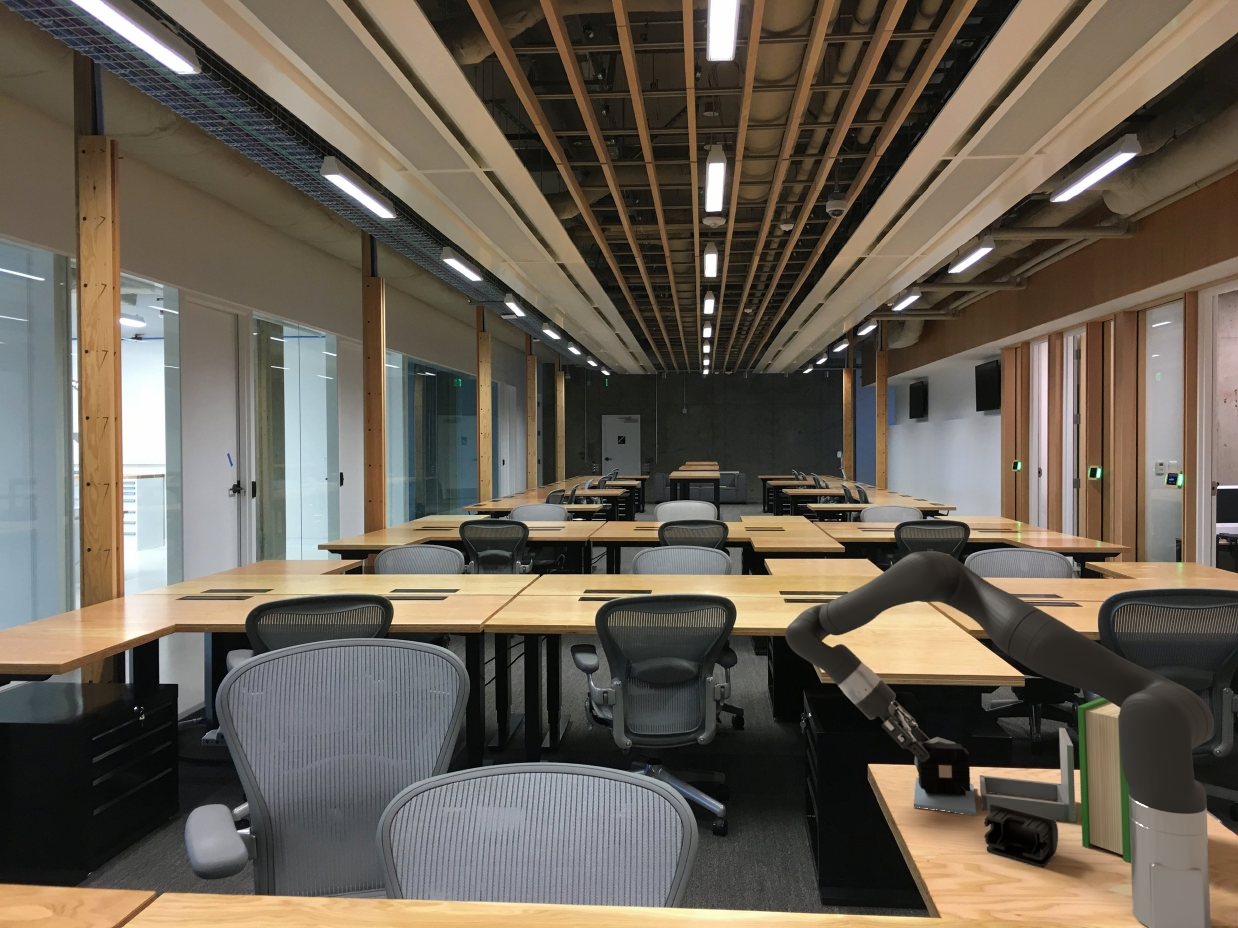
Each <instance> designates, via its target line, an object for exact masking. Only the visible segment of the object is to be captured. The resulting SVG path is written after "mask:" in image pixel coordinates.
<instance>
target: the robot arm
mask: <svg viewBox="0 0 1238 928" xmlns="http://www.w3.org/2000/svg"><path fill="white" fill-rule="evenodd" d="M916 602H920V603H942V604H945V605H947V606H948V607H951V608H953V609H955V610H956V611H958V612H960V613H962V614H964V615H966V616H968V617H969V618H970V619H972V620H973V621H974V622H976V623H977V624H978V625H979V627H981V628H982V630H983V631H984V632H985V633H986V635H987V637H988V638H989V639H990V640H991V641H992V642H993V643H994V645H996V647H997V648H999V649H1000V650H1001V651H1003V652H1004V653H1005V654H1007V656H1009V657H1011V658H1012V659H1014V660H1016V661H1017V662H1018V663H1020V664H1022V665H1024V666H1025V667H1027V668H1028V669H1029V670H1031V671H1034V672H1035V673H1037V674H1039V675H1041V676H1043V677H1046V678H1049V679H1050V680H1054V681H1057V682H1059V683H1062V684H1065V685H1068V686H1071V687H1073V688H1074V687H1075V688H1077V689H1080V690H1083V691H1086V692H1089V693H1092V694H1094V695H1096V696H1098V697H1100V698H1104V699H1106V700H1108V701H1110V702H1111V703H1113V704H1115V705H1116V706H1118V707H1120V708H1121V709H1120V713H1119V740H1120V752H1121V764H1122V770H1123V774H1124V777H1125V779H1126V781H1127V783H1128V787H1129V813H1130V814H1129V817H1130V846H1131V862H1130V863H1131V864H1130V866H1131V867H1130V871H1131V893H1132V894H1131V895H1132V913H1133V915H1134V917H1135V919H1136V920H1137V921H1138V922H1139V923H1141V924H1142V925H1144V926H1146V927H1147V928H1212V922H1211V918H1212V917H1211V900H1210V899H1211V896H1210V891H1211V890H1210V870H1209V868H1210V867H1209V866H1210V865H1209V864H1210V863H1209V843H1208V842H1209V841H1208V839H1209V837H1208V836H1209V835H1208V808H1207V805H1208V804H1207V792H1206V789H1205V787H1204V786H1203V784H1202V783H1201V782H1200V781H1198V780H1196V779H1195V773H1194V763H1193V762H1194V761H1193V749H1196V748H1198V747H1199V746H1201V745H1203V744H1204V743H1206V742H1207V741H1208V740H1209V739H1210V738H1211V737H1212V735H1213V733H1214V730H1215V719H1214V716H1213V713H1212V711H1211V709H1210V707H1209V706H1208V705H1207V703H1206V702H1205V701H1204V700H1203V698H1202V697H1200V696H1199V695H1197V694H1196V693H1195V692H1194V691H1192V690H1191V689H1189V688H1187V687H1186V686H1184V685H1181V684H1179V683H1177V682H1175V681H1173V680H1171V679H1169V678H1167V677H1164V676H1162V675H1159V674H1157V673H1155V672H1153V671H1151V670H1149V669H1146V668H1144V667H1142V666H1140V665H1138V664H1136V663H1133V662H1132V661H1129V660H1128V659H1125V658H1124V657H1122V656H1120V655H1118V653H1117V654H1116V653H1115V652H1113V651H1112V650H1110V649H1108V648H1106V647H1105V646H1103V645H1101V644H1100V643H1098V642H1096V641H1095V640H1093V639H1091V638H1090V637H1088V636H1086V635H1084V634H1082V632H1079V631H1077V630H1075V629H1074V628H1072V627H1070V626H1069V625H1067V624H1066V623H1064V622H1062V621H1061V620H1059V619H1057V618H1056V617H1054V616H1052V615H1050V614H1049V613H1047V612H1045V611H1044V610H1042V609H1039V608H1038V607H1036V606H1034V605H1032V604H1030V603H1029V602H1026V601H1024V600H1023V599H1021V598H1019V597H1017V596H1015V595H1013V594H1011V593H1010V592H1009V591H1005V590H1003V589H1002V588H999V587H997V586H995V585H994V584H992V583H990V582H988V580H986V579H984V578H983V577H981V576H980V575H979V574H977V573H976V572H975V571H973V570H972V569H970V568H969V567H968V566H966V565H965V564H964V563H962V562H961V561H959V560H958V559H956V557H953V556H952V555H950V554H948V553H944V552H940V551H915V552H911V553H909V554H907V555H905V556H904V557H903V558H901V559H899V560H898V561H897V562H896V563H894V564H893V565H892V566H890V567H889V568H888V569H886V570H885V571H884V572H882V573H881V574H880V575H878V576H877V577H874V578H873V579H872V580H870V581H869V582H867V583H866V584H864V585H862V586H860V587H857V588H855V589H853V590H852V591H849V592H847V593H845V594H843V595H840V596H839V597H837V598H835V599H832V600H830V601H827V603H820V604H817V605H814V606H811V607H809V608H807V609H805V610H803V611H802V612H801V613H800V614H799V615H798V616H796V618H795V619H793V621H792V622H791V623H790V624H789V625H788V626H787V627H786V629H785V631H784V632H785V633H784V635H785V640H786V643H787V645H788V646H789V648H790V649H791V650H792V651H793V652H794V653H795V654H797V655H798V656H799V657H801V658H802V659H804V660H806V661H807V662H809V664H813V665H814V666H815V667H817V668H818V669H820V670H821V671H823V672H825V674H827V676H828V677H829V678H830V679H831V680H832V681H833V682H834V683H835V684H836V685H837V686H838V688H840V690H841V691H842V693H843V694H844V695H845V696H846V697H847V698H848V699H849V700H850V701H851V702H852V703H853V704H854V705H855V707H857V708H858V709H859V710H860V712H862V714H864V716H866V718H868V720H875V719H876V718H877V717H879V718H880V719H881V720H882V722H883V723H881V728H882V729H883V730H885V732H886V733H887V734H888V735H889V736H890V737H891V738H892V739H893V740H894V742H896V743H897V744H898V746H900V747H901V749H903V750H905V749H907V750H909V751H910V752H911V754H913V755H914V757H915V756H916V757H917V758H918V759H919V760H920V761H921V762H925V761H926V760H927V759H928V758H929V757H930V754H929V753H928V752H927V751H926V750H925V749H924V748H923V747H922V745H921V744H920V743H919V742H920V741H921V742H925V741H928V740H931V739H930V738H929V737H928V736H927V735H926V734H925V733H924V732H923V730H921V729H920V728H919V725H918V723H917V721H916V719H915V718H914V717H913V716H912V715H911V714H910V713H909V712H908V711H907V710H906V709H905V708H904V707H903V706H902V705H901V704H900V703H899V702H898V701H897V700H896V697H897V696H896V693H895V692H894V691H893V689H891V687H890V686H889V685H888V684H887V683H885V682H884V680H882V679H881V677H879V676H878V675H877V673H875V671H874V670H872V669H871V668H870V667H869V666H867V665H866V664H865V663H864V662H862V660H861V659H860V658H859V657H858V656H856V655H857V654H855V653H854V652H852V650H850V648H849V647H848V646H847V645H845V644H841V643H838V644H836V645H834V646H830V645H828V644H827V643H825V642H824V639H825V638H827V637H829V636H830V635H832V636H837V637H838V636H842V635H845V634H848V633H850V632H852V631H854V630H857V629H860V628H862V627H864V626H866V625H867V624H869V623H870V622H872V621H873V620H874V619H876V618H877V617H878V616H879V615H881V614H882V613H884V612H885V611H887V610H888V609H892V608H894V607H896V606H901V605H905V604H909V603H916Z"/></svg>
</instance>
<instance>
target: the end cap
mask: <svg viewBox="0 0 1238 928" xmlns="http://www.w3.org/2000/svg"><path fill="white" fill-rule="evenodd" d="M983 824H984V827H985V828H988V827H990V829H989V830H988V831H987V832H986V833H985V834H984V839H985V840H984V841H985V844H986V845H987V846H986V852H987V853H989V854H993V855H996V856H999V857H1002V858H1005V859H1010V860H1014V861H1015V862H1019V863H1022V864H1026V865H1030V866H1033V867H1036V868H1040V869H1043V868H1045V867H1046V866H1047V865H1048V864H1049V862H1050V861H1051V859H1052V857H1054V856H1055V854H1056V852H1057V849H1058V844H1059V843H1058V842H1059V828H1058V824H1057V820H1054V819H1052V818H1048V817H1044V816H1040V815H1036V814H1032V813H1028V812H1024V811H1020V810H1017V809H1013V808H1009V807H1005V806H1001V805H997V804H991V805H990V812H989V814H988V815H987V816H986V817H985V818H984V822H983Z"/></svg>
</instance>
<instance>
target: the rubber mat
mask: <svg viewBox="0 0 1238 928" xmlns="http://www.w3.org/2000/svg"><path fill="white" fill-rule="evenodd" d="M964 790H965V789H964ZM965 792H966V796H964V795H962V794H961V795H957V794H956V795H955V794H953V795H952V794H951V795H950V794H948V795H946V794H941V793H940V794H936V793H934V794H932V793H931V794H929V793H927V794H926V792H925V790H924V789H921V787H920V785H919V777H916V778H915V788H914V795H913V797H914V799H913V808H914V807H918V808H919V807H920V808H928V809H935V810H936V809H937V810H945V811H950V812H956V813H955V814H958V813H963V814H962V815H966V814H971V815H970V816H974V815H976V816H977V808H976V797H975V785H974V783H970V791H965ZM918 808H917V809H918ZM950 812H949V813H950Z"/></svg>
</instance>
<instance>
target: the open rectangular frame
mask: <svg viewBox="0 0 1238 928" xmlns="http://www.w3.org/2000/svg"><path fill="white" fill-rule="evenodd" d="M1058 731H1059V733H1058V734H1059V758H1060V759H1059V761H1060V783H1056V782H1055V783H1054V782H1048V781H1047V782H1045V781H1037V780H1027V779H1021V778H1020V779H1019V778H1010V777H1009V778H1008V777H1000V776H991V775H981V774H979V792H980V793H979V794H980V802H981V810H982V812H987V811H989V813H990V805H991V804H997V805H1001V806H1005V807H1009V808H1013V809H1017V810H1020V811H1024V812H1028V813H1032V814H1036V815H1040V816H1044V817H1048V818H1052V819H1054V820H1055V821H1062V822H1071V823H1076V822H1077V821H1076V819H1077V818H1076V817H1077V816H1076V797H1075V795H1076V792H1075V787H1076V786H1075V762H1074V761H1075V760H1074V758H1075V757H1074V744H1073V743H1072V739H1071V738H1070V735H1069V734H1068V732H1067V729H1066V728H1065V727H1059V730H1058ZM989 792H992V793H991V794H989ZM987 793H988V794H987ZM998 793H999V794H1000V795H996V794H998ZM1005 795H1008V796H1005ZM1014 796H1016V797H1014ZM1017 796H1018V797H1017ZM1026 797H1027V798H1026ZM1031 798H1034V799H1031ZM1041 799H1042V800H1041ZM1052 800H1053V801H1052Z"/></svg>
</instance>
